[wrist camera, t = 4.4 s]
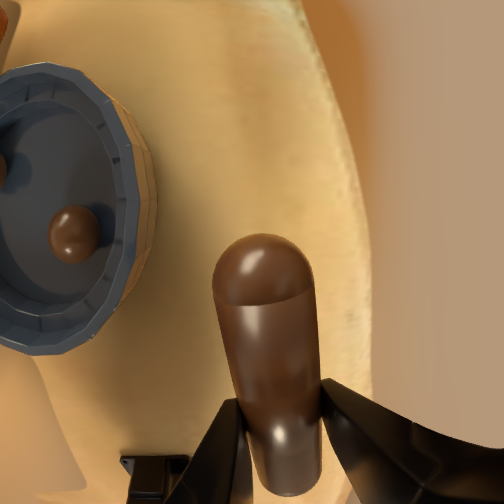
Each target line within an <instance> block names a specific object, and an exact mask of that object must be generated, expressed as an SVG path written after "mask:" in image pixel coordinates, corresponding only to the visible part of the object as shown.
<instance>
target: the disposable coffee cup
mask: <svg viewBox="0 0 504 504" xmlns="http://www.w3.org/2000/svg"><path fill="white" fill-rule="evenodd" d="M7 23H8V17H7V14H6V13H5V12H4V10H3V9H2V8H1V7H0V43H1V41H2V39H3V37H4V34H5V31H6V29H7Z"/></svg>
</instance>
